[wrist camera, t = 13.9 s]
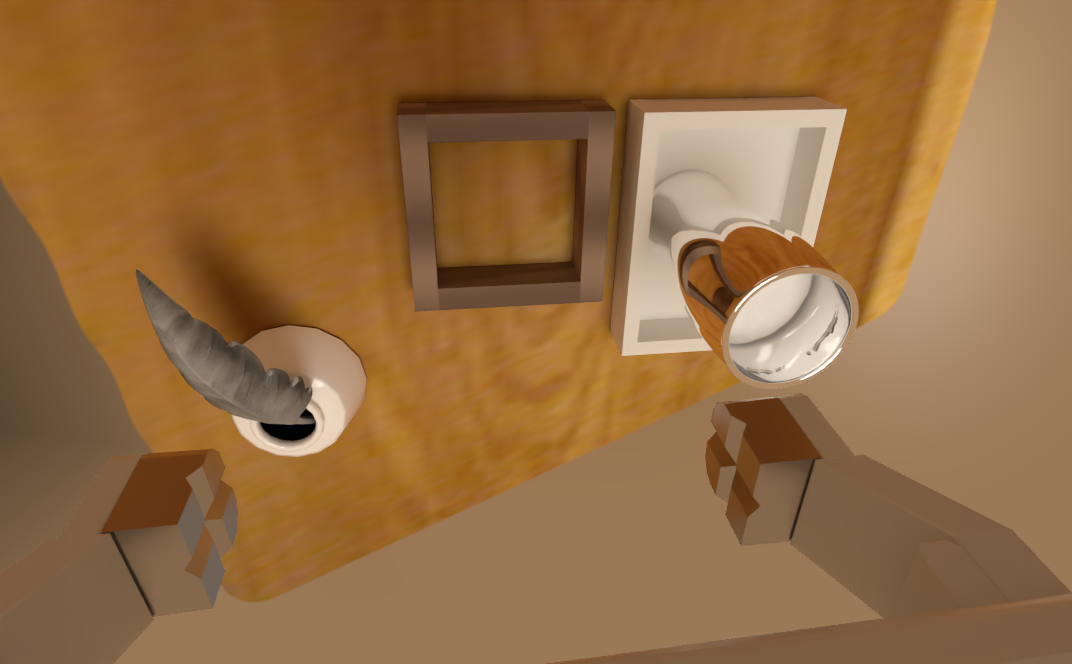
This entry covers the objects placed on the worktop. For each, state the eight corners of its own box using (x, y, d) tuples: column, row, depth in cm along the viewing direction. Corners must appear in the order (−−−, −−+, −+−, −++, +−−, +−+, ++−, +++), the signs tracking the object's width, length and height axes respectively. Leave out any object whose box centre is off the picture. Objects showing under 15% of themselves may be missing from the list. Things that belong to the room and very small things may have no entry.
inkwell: (277, 448, 49) (245, 555, 41) (111, 244, 40) (24, 327, 31) (390, 403, 49) (382, 502, 40) (248, 184, 39) (197, 252, 31)
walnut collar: (399, 103, 38) (397, 114, 35) (604, 99, 39) (616, 111, 37) (416, 289, 44) (415, 311, 42) (592, 280, 46) (602, 301, 43)
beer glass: (611, 225, 43) (687, 347, 30) (687, 140, 41) (803, 233, 28) (682, 282, 46) (780, 415, 33) (757, 205, 44) (892, 316, 31)
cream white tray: (628, 99, 40) (644, 112, 37) (816, 96, 41) (846, 108, 38) (609, 329, 48) (621, 355, 45) (767, 320, 49) (789, 345, 46)
